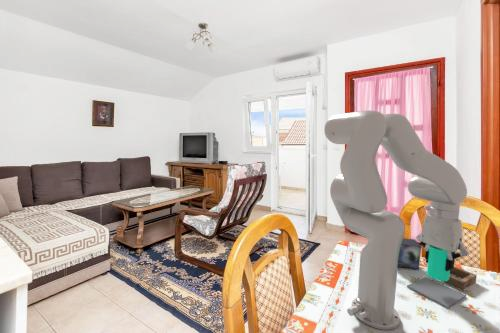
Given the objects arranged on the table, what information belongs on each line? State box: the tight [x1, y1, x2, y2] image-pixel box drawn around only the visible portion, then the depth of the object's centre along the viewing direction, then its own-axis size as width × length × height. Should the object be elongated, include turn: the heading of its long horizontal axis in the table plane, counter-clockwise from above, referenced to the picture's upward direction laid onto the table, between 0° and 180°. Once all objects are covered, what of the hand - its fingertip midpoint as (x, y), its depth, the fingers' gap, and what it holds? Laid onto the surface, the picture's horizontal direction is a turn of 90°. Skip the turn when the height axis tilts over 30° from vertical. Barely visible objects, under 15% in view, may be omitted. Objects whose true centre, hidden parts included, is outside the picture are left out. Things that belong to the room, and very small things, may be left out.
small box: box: [397, 237, 422, 271], centre depth 98 cm, size 11×6×10 cm, turn 77°
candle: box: [426, 245, 451, 282], centre depth 80 cm, size 6×6×12 cm
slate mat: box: [406, 276, 467, 310], centre depth 81 cm, size 12×12×1 cm
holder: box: [441, 265, 478, 292], centre depth 88 cm, size 10×10×3 cm
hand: (438, 265), depth 80 cm, fingers closed on candle, 4 cm apart
